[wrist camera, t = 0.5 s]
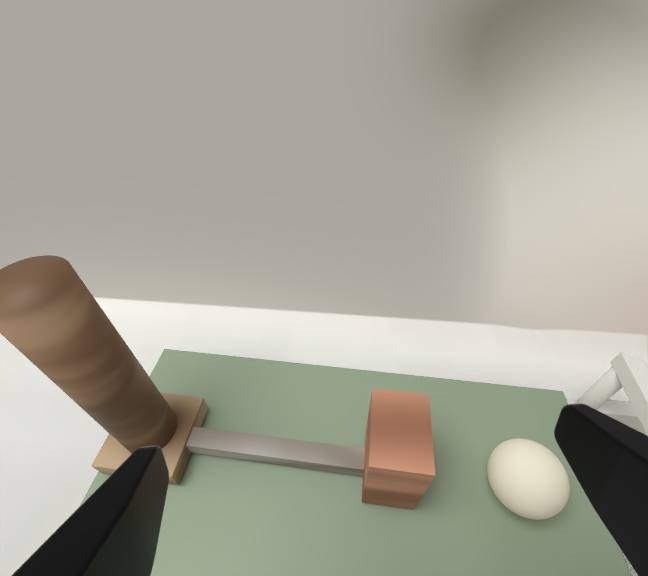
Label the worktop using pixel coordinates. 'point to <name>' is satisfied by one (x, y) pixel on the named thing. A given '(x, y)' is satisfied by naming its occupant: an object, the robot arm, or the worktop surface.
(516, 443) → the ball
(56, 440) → the worktop surface
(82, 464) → the worktop surface
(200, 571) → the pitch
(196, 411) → the post with bar block
